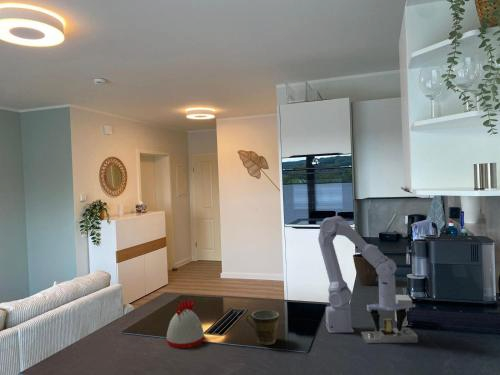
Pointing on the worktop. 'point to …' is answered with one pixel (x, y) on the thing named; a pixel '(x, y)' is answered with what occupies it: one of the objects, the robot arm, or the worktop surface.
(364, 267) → the plant pot
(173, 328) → the white red bobble hat
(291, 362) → the worktop surface
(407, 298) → the small box
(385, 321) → the brass pin
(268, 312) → the ceramic cup
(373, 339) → the notched mounting plate
